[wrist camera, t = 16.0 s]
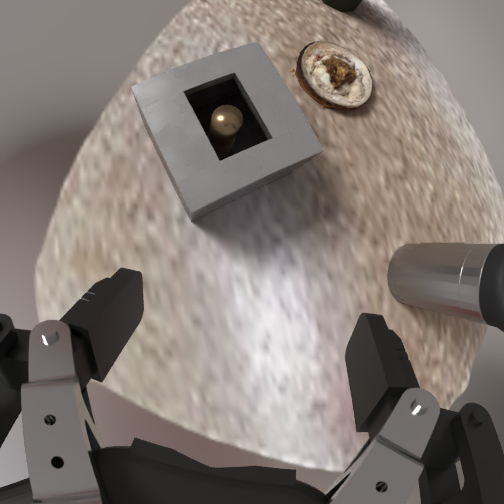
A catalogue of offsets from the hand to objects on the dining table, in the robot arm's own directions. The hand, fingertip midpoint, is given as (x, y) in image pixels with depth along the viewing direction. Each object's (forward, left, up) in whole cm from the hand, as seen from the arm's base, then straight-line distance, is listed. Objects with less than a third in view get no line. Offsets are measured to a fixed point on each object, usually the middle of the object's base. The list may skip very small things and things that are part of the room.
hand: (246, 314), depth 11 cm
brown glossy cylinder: (-8, -12, -26) cm, 30 cm away
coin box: (-8, -12, -26) cm, 30 cm away
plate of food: (-29, -17, -27) cm, 43 cm away
